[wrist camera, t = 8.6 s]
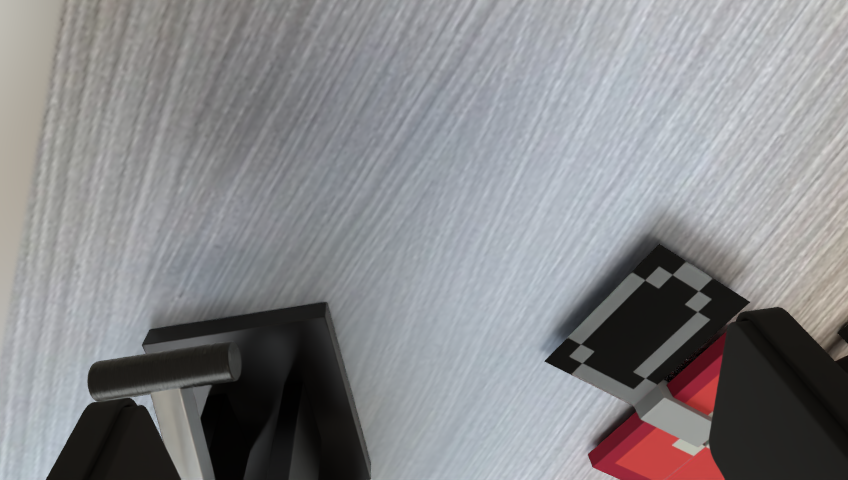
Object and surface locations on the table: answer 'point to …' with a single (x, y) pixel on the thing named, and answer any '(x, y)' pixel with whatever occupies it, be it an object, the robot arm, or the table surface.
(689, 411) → the red board with handle
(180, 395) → the tap lever
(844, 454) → the robot arm
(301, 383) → the bracket
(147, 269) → the table surface
